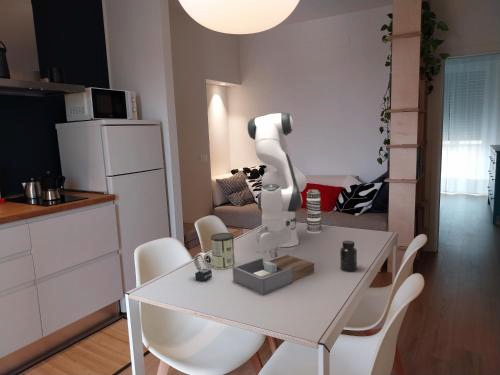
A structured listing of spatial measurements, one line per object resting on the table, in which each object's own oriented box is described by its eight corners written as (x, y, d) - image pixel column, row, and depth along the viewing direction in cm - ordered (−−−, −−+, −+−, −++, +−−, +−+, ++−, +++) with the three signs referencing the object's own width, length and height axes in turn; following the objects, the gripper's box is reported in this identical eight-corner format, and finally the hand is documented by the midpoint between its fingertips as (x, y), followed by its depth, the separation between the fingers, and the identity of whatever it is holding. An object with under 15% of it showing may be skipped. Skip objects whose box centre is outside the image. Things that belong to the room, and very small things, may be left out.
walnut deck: (264, 271, 158) (263, 262, 158) (287, 263, 167) (286, 254, 166) (290, 281, 146) (290, 272, 145) (314, 272, 155) (313, 263, 154)
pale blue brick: (268, 273, 153) (263, 274, 152) (268, 261, 153) (264, 262, 151) (276, 276, 149) (271, 277, 148) (276, 264, 149) (272, 265, 147)
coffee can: (219, 260, 174) (217, 231, 172) (238, 262, 170) (237, 233, 168) (208, 268, 165) (206, 237, 163) (228, 270, 161) (226, 239, 159)
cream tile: (262, 269, 150) (262, 275, 151) (252, 273, 147) (253, 279, 148) (270, 273, 146) (270, 279, 147) (260, 276, 143) (261, 282, 144)
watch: (207, 282, 149) (206, 256, 147) (192, 279, 153) (190, 254, 151) (215, 277, 153) (214, 252, 152) (200, 274, 157) (198, 250, 156)
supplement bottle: (351, 265, 161) (351, 239, 159) (360, 270, 154) (360, 243, 152) (337, 267, 159) (337, 240, 157) (345, 273, 153) (345, 245, 151)
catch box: (233, 281, 149) (232, 267, 148) (262, 270, 159) (262, 257, 158) (262, 295, 135) (261, 279, 134) (292, 282, 145) (292, 268, 144)
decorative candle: (306, 233, 214) (305, 191, 210) (306, 229, 223) (305, 189, 219) (322, 233, 212) (321, 191, 209) (321, 229, 221) (321, 188, 218)
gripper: (262, 232, 138) (264, 267, 140) (293, 219, 153) (294, 251, 155) (250, 229, 142) (252, 263, 144) (281, 218, 157) (282, 248, 159)
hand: (274, 257), depth 150 cm, fingers closed
